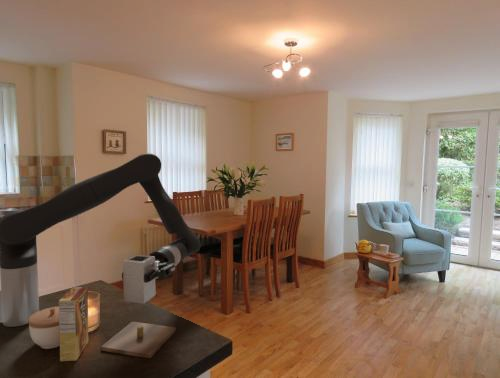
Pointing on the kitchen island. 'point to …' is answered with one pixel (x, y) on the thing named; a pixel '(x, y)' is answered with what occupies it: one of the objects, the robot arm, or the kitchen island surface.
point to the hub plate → (139, 339)
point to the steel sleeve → (138, 279)
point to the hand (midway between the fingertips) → (134, 277)
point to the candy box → (73, 323)
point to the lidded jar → (45, 328)
